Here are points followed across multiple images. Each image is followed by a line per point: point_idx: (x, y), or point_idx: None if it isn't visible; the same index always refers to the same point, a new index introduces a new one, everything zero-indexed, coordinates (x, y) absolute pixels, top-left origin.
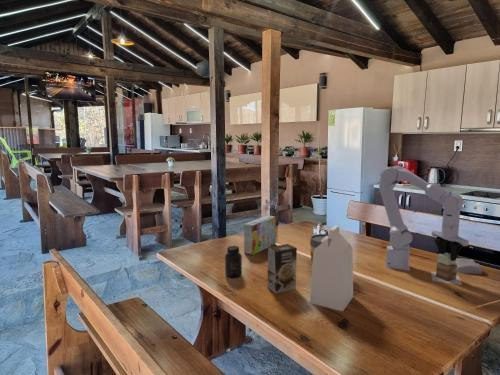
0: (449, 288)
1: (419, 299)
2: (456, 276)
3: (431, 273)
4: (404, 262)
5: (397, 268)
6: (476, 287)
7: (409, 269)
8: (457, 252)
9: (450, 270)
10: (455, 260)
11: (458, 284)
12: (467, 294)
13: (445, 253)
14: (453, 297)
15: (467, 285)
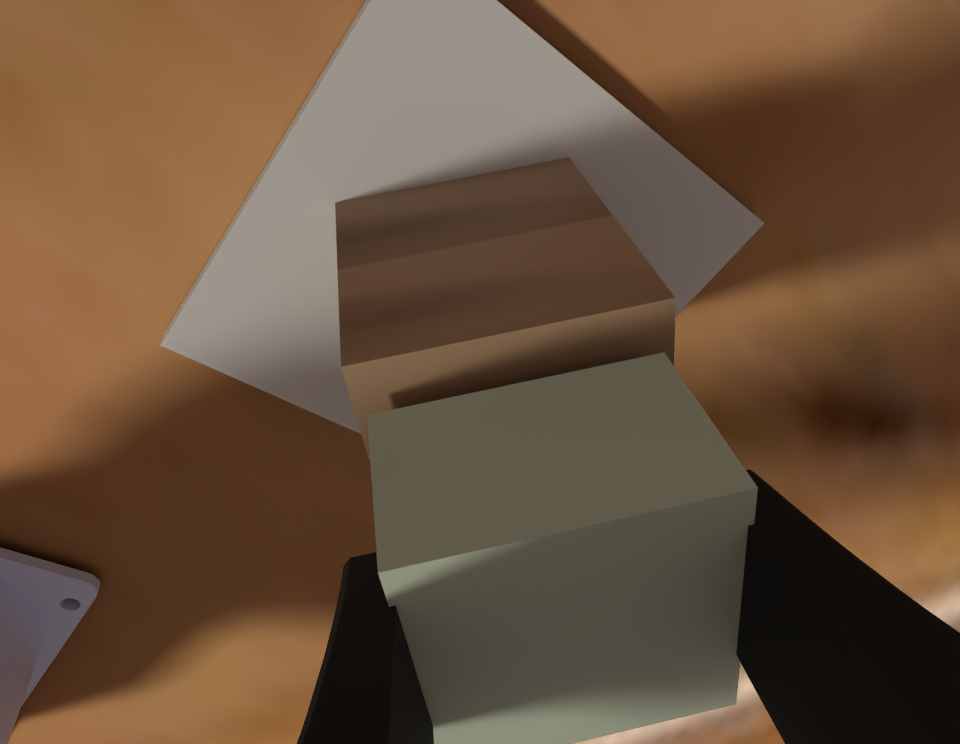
0: (718, 413)
1: (744, 715)
2: (464, 37)
3: (251, 381)
4: (4, 719)
5: (32, 682)
6: (895, 15)
7: (71, 583)
8: (930, 666)
9: None
10: (705, 425)
11: (723, 263)
12: (926, 327)
13: (413, 605)
14: (873, 497)
15: (774, 106)
